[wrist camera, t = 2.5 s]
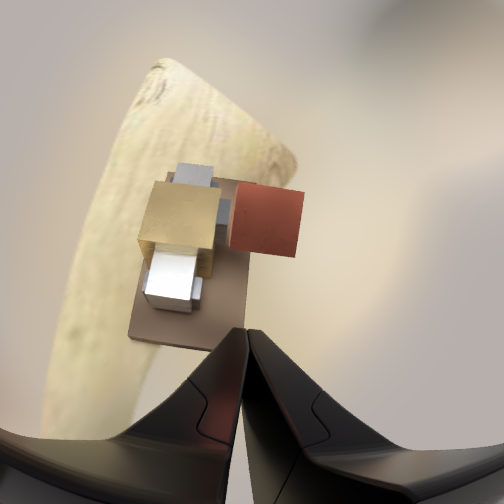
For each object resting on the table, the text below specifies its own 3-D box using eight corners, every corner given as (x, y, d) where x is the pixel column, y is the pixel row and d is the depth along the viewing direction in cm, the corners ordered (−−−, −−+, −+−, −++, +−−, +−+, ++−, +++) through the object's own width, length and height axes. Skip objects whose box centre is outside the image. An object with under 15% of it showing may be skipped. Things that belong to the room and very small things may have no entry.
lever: (255, 230, 19) (294, 261, 8) (229, 226, 19) (228, 253, 8) (259, 201, 19) (305, 188, 7) (233, 197, 19) (239, 177, 7)
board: (239, 355, 21) (241, 352, 20) (131, 339, 20) (127, 335, 19) (254, 191, 27) (256, 182, 26) (169, 180, 27) (168, 171, 26)
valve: (215, 320, 21) (218, 293, 16) (141, 308, 20) (123, 279, 16) (231, 198, 25) (238, 152, 21) (169, 190, 25) (164, 143, 20)
